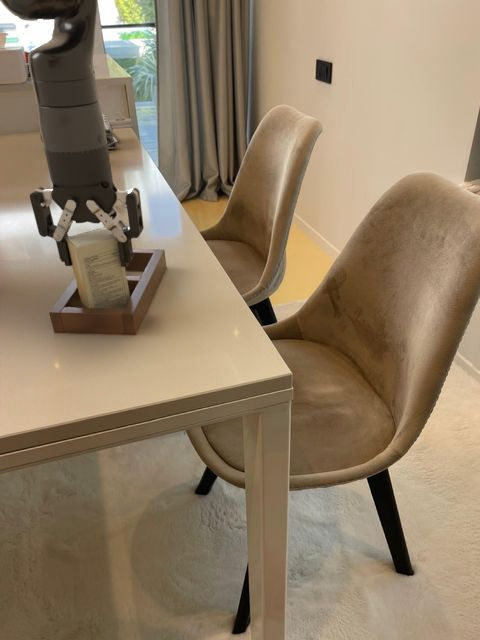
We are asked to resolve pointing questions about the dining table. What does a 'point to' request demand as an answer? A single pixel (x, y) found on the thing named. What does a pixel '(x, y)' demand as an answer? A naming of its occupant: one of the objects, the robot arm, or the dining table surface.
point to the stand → (105, 320)
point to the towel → (109, 133)
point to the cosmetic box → (98, 269)
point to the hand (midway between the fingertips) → (97, 264)
